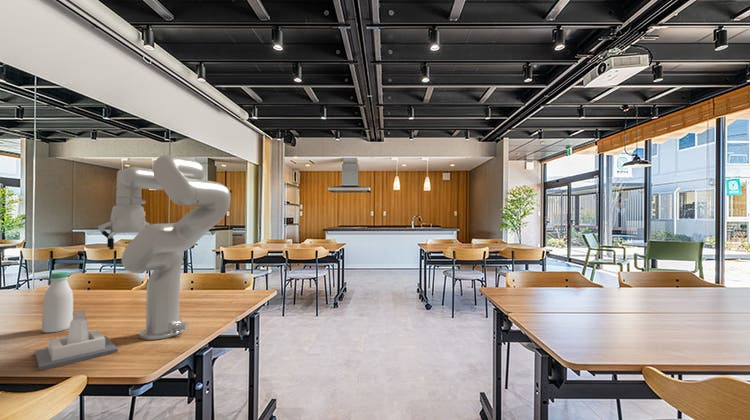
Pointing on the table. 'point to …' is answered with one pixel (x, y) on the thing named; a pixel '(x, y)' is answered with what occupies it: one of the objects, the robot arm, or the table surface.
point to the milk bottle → (57, 304)
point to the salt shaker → (78, 328)
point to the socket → (73, 350)
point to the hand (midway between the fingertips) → (127, 248)
